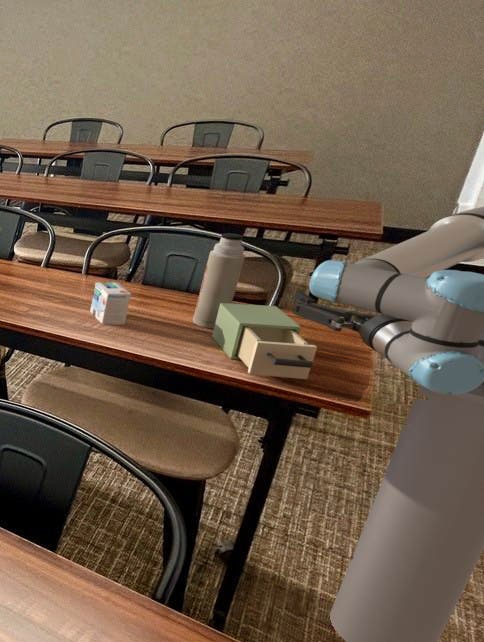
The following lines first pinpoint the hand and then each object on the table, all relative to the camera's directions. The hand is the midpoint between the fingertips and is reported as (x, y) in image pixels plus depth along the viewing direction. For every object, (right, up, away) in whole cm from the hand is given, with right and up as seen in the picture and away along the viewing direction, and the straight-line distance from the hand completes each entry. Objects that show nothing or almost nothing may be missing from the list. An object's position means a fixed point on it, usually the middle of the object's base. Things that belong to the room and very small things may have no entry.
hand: (337, 298), depth 124 cm
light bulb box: (-13, -7, +58) cm, 60 cm away
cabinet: (+11, -14, +34) cm, 38 cm away
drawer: (+6, -18, +22) cm, 29 cm away
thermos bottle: (+13, -8, +50) cm, 53 cm away
